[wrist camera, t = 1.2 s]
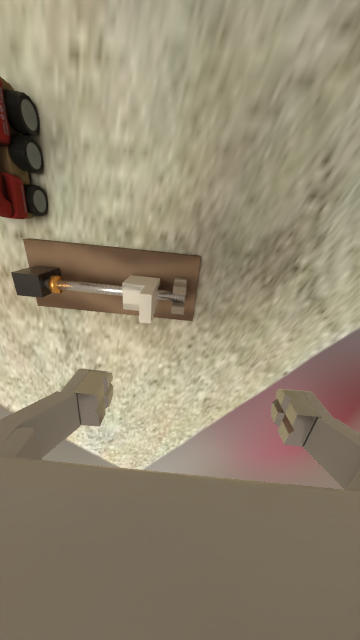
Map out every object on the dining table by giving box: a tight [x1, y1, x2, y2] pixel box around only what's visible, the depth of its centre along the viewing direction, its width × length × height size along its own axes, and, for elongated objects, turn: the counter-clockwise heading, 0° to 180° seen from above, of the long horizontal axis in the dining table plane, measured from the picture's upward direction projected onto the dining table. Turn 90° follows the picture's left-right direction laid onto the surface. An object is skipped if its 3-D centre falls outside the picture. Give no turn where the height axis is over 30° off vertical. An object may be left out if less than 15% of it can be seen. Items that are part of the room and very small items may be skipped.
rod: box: [11, 265, 185, 302], centre depth 34 cm, size 4×26×6 cm, turn 85°
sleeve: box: [122, 275, 160, 324], centre depth 31 cm, size 4×5×9 cm
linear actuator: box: [23, 239, 201, 321], centre depth 35 cm, size 12×30×8 cm, turn 85°
